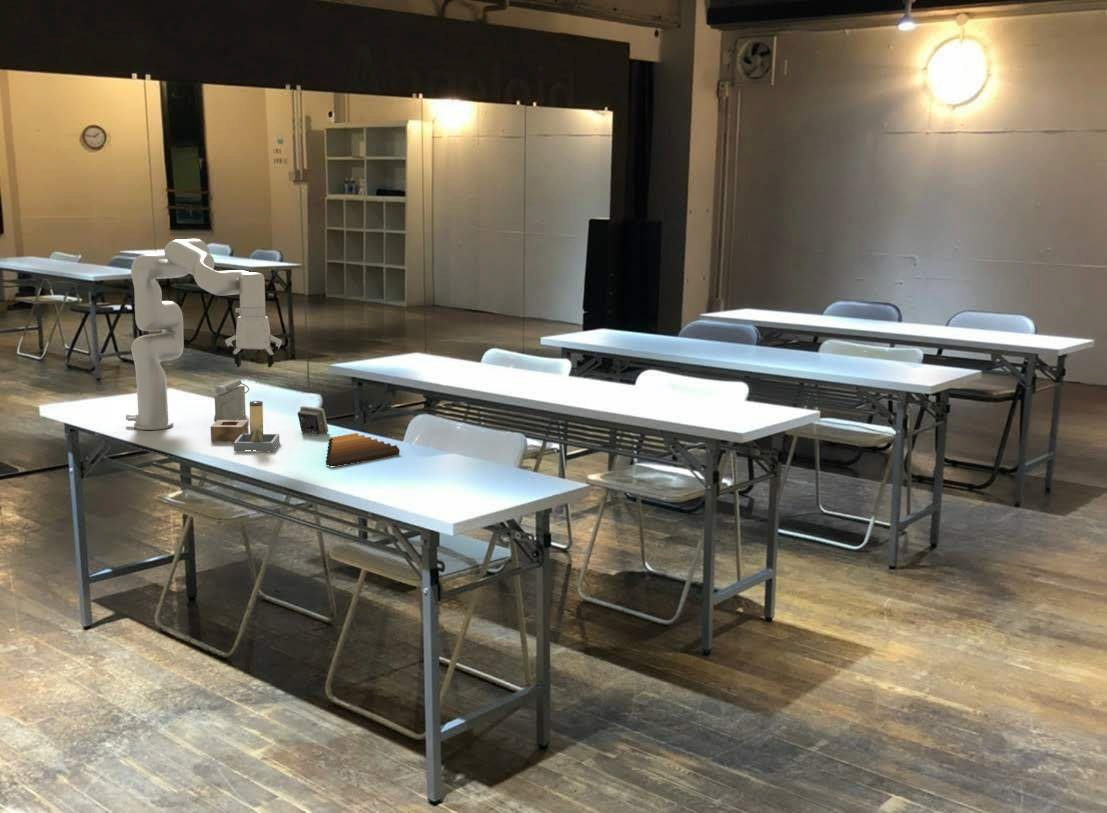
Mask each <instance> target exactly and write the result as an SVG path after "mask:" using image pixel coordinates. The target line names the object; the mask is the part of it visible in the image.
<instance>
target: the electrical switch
mask: <svg viewBox="0 0 1107 813" xmlns="http://www.w3.org/2000/svg"><path fill="white" fill-rule="evenodd" d="M297 417H298V422H299V426H300V431H301V433H302V432H303V434H310V435H318V436H321V435H323V434H328V433H329V427H328V422H327V417H326V413H325V409H324V408H322V407H321V408H320V407H312V406H305V405H304V406H303V405H301V406H300V408H299V411H298V412H297Z"/></svg>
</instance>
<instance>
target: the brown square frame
mask: <svg viewBox="0 0 1107 813" xmlns="http://www.w3.org/2000/svg"><path fill="white" fill-rule="evenodd" d="M241 434H250V429H249V420H247V419H237V420H217V421H216V422H215V421H214V423H213V424H211V426H210V442H211V441H235V440H236V439H237V438H238V437H239V436H240V435H241Z"/></svg>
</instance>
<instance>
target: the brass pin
mask: <svg viewBox="0 0 1107 813" xmlns="http://www.w3.org/2000/svg"><path fill="white" fill-rule="evenodd" d="M263 404H264V402H263V401H262V400H250V401H249V434H250V442H263V434H264V411H263V410H264V405H263Z"/></svg>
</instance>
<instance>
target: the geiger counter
mask: <svg viewBox="0 0 1107 813" xmlns="http://www.w3.org/2000/svg"><path fill="white" fill-rule="evenodd" d="M245 387H246V388H247V390H245ZM214 391H215V395H214V414H215V415H214V418H213V421H214V423H215V422H216V421H217V420H236V419H237V420H239V419H240V417H241V416H243V415H244V416H246V415H245V414H246V394H247V393H249V391H250V387H249V386H248V385H247V384H244V383H242V380H241V379H239V378H236V379H235V380H232V381H230V382H227V383H225V384H223V385H221V384H220V385H218V386H217V387H215V389H214ZM244 416H243V417H244ZM238 418H239V419H238ZM241 418H242V417H241Z"/></svg>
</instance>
